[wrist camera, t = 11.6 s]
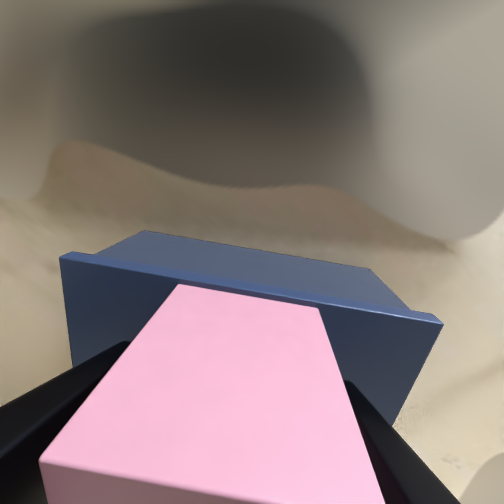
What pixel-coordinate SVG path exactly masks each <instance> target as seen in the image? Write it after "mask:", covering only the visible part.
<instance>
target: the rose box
mask: <svg viewBox="0 0 504 504" xmlns="http://www.w3.org/2000/svg"><path fill="white" fill-rule="evenodd" d="M38 462H39V466H40V471H41V475H42V479H43V484H44V488H45V493H46V497H47V502H48V504H385V502H384V499H383V496H382V493H381V490H380V487H379V484H378V481H377V478H376V476H375V473H374V470H373V467H372V464H371V461H370V458H369V455H368V452H367V449H366V447H365V444H364V441H363V438H362V435H361V432H360V429H359V426H358V423H357V420H356V417H355V415H354V412H353V409H352V406H351V403H350V400H349V397H348V394H347V391H346V388H345V385H344V383H343V380H342V377H341V374H340V371H339V368H338V365H337V362H336V359H335V356H334V353H333V351H332V348H331V345H330V342H329V339H328V336H327V333H326V330H325V327H324V324H323V321H322V319H321V316H320V313H319V310H318V308H314V307H308V306H302V305H297V304H291V303H285V302H279V301H274V300H268V299H262V298H257V297H251V296H245V295H239V294H234V293H228V292H222V291H217V290H211V289H205V288H199V287H194V286H188V285H182V284H178V285H177V286H176V288H175V289H174V290H173V291H172V293H171V294H170V295H169V296H168V298H167V299H166V300H165V301H164V303H163V304H162V305H161V306H160V307H159V309H158V310H157V311H156V312H155V314H154V315H153V316H152V317H151V319H150V320H149V321H148V322H147V324H146V325H145V326H144V327H143V329H142V330H141V331H140V332H139V334H138V335H137V336H136V337H135V339H134V340H133V341H132V342H131V344H130V345H129V346H128V347H127V349H126V350H125V351H124V352H123V354H122V355H121V356H120V357H119V359H118V360H117V361H116V362H115V364H114V365H113V366H112V367H111V369H110V370H109V371H108V372H107V374H106V375H105V376H104V377H103V379H102V380H101V381H100V382H99V384H98V385H97V386H96V387H95V389H94V390H93V391H92V392H91V394H90V395H89V396H88V397H87V399H86V400H85V401H84V402H83V404H82V405H81V406H80V407H79V409H78V410H77V411H76V412H75V414H74V415H73V416H72V417H71V418H70V420H69V421H68V422H67V423H66V425H65V426H64V427H63V428H62V430H61V431H60V432H59V433H58V435H57V436H56V437H55V438H54V440H53V441H52V442H51V443H50V445H49V446H48V447H47V448H46V450H45V451H44V452H43V453H42V455H41V456H40V458H39V461H38Z"/></svg>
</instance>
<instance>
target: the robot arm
mask: <svg viewBox="0 0 504 504" xmlns="http://www.w3.org/2000/svg"><path fill="white" fill-rule="evenodd" d="M130 344H131V342H130V341H121V342H119V343H118V344H116V345H114V346H112V347H110V348H108V349H107V350H105V351H103V352H101V353H99V354H97V355H95V356H94V357H92V358H90V359H88V360H86V361H84V362H83V363H81V364H79V365H77V366H75V367H73V368H72V369H70V370H68V371H66V372H64V373H62V374H60V375H59V376H57V377H55V378H53V379H51V380H49V381H48V382H46V383H44V384H42V385H40V386H38V387H36V388H35V389H33V390H31V391H29V392H27V393H25V394H24V395H22V396H20V397H18V398H16V399H14V400H12V401H11V402H9V403H7V404H5V405H3V406H1V407H0V504H48V502H47V497H46V493H45V488H44V484H43V479H42V475H41V471H40V466H39V462H38V461H39V458H40V456H41V455H42V453H43V452H44V451H45V450H46V448H47V447H48V446H49V445H50V443H51V442H52V441H53V440H54V438H55V437H56V436H57V435H58V433H59V432H60V431H61V430H62V428H63V427H64V426H65V425H66V423H67V422H68V421H69V420H70V418H71V417H72V416H73V415H74V414H75V412H76V411H77V410H78V409H79V407H80V406H81V405H82V404H83V402H84V401H85V400H86V399H87V397H88V396H89V395H90V394H91V392H92V391H93V390H94V389H95V387H96V386H97V385H98V384H99V382H100V381H101V380H102V379H103V377H104V376H105V375H106V374H107V372H108V371H109V370H110V369H111V367H112V366H113V365H114V364H115V362H116V361H117V360H118V359H119V357H120V356H121V355H122V354H123V352H124V351H125V350H126V349H127V347H128V346H129V345H130ZM342 380H343V379H342ZM343 383H344V385H345V388H346V391H347V394H348V397H349V400H350V403H351V406H352V409H353V412H354V415H355V417H356V420H357V423H358V426H359V429H360V432H361V435H362V438H363V441H364V444H365V447H366V449H367V452H368V455H369V458H370V461H371V464H372V467H373V470H374V473H375V476H376V478H377V481H378V484H379V487H380V490H381V493H382V496H383V499H384V502H385V504H460V502H459V501H458V500H457V499H456V498H455V497H454V496H453V494H452V493H451V492H450V491H449V490H448V489H447V488H446V487H445V486H444V484H443V483H442V482H441V481H440V480H439V479H438V478H437V477H436V475H435V474H434V473H433V472H432V471H431V470H430V469H429V468H428V466H427V465H426V464H425V463H424V462H423V461H422V460H421V459H420V458H419V456H418V455H417V454H416V453H415V452H414V451H413V450H412V449H411V447H410V446H409V445H408V444H407V443H406V442H405V441H404V440H403V438H402V437H401V436H400V435H399V434H398V433H397V432H396V431H395V429H394V428H393V427H392V426H391V425H390V424H389V423H388V422H387V421H386V419H385V418H384V417H383V416H382V415H381V414H380V413H379V412H378V410H377V409H376V408H375V407H374V406H373V405H372V404H371V403H370V401H369V400H368V399H367V398H366V397H365V396H364V395H363V394H362V393H361V391H360V390H359V389H358V388H357V387H356V386H355V385H354V384H353V383H352V382H351V381H348V380H343Z"/></svg>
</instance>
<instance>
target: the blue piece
mask: <svg viewBox="0 0 504 504" xmlns="http://www.w3.org/2000/svg"><path fill="white" fill-rule="evenodd" d="M59 262H60V270H61V278H62V286H63V294H64V302H65V310H66V318H67V326H68V334H69V342H70V350H71V358H72V366H73V367H75V366H77V365H79V364H81V363H83V362H84V361H86V360H88V359H90V358H92V357H94V356H95V355H97V354H99V353H101V352H103V351H105V350H107V349H108V348H110V347H112V346H114V345H116V344H118V343H119V342H121V341H130V342H132V341H133V340H134V339H135V337H136V336H137V335H138V334H139V332H140V331H141V330H142V329H143V327H144V326H145V325H146V324H147V322H148V321H149V320H150V319H151V317H152V316H153V315H154V314H155V312H156V311H157V310H158V309H159V307H160V306H161V305H162V304H163V303H164V301H165V300H166V299H167V298H168V296H169V295H170V294H171V293H172V291H173V290H174V289H175V288H176V286H177V285H178V284H182V285H188V286H194V287H199V288H205V289H211V290H217V291H222V292H228V293H234V294H239V295H245V296H251V297H257V298H262V299H268V300H274V301H279V302H285V303H291V304H297V305H302V306H308V307H314V308H318V310H319V313H320V316H321V319H322V321H323V324H324V327H325V330H326V333H327V336H328V339H329V342H330V345H331V348H332V351H333V353H334V356H335V359H336V362H337V365H338V368H339V371H340V374H341V377H342V379H343V380H348V381H351V382H352V383H353V384H354V385H355V386H356V387H357V388H358V389H359V390H360V391H361V393H362V394H363V395H364V396H365V397H366V398H367V399H368V400H369V401H370V403H371V404H372V405H373V406H374V407H375V408H376V409H377V410H378V412H379V413H380V414H381V415H382V416H383V417H384V418H385V419H386V421H387V422H388V423H389V424H390V425H391V426H392V425H393V423H394V422H395V420H396V418H397V416H398V414H399V412H400V410H401V408H402V406H403V404H404V402H405V400H406V398H407V396H408V394H409V392H410V390H411V388H412V386H413V384H414V382H415V380H416V378H417V376H418V374H419V373H420V371H421V369H422V367H423V365H424V363H425V361H426V359H427V357H428V355H429V353H430V351H431V349H432V347H433V345H434V343H435V341H436V339H437V337H438V335H439V333H440V331H441V329H442V327H443V325H444V324H443V323H442V322H441V321H440V320H439V319H438V318H437V317H435V316H434V315H433V314H430V313H424V312H418V311H412V310H410V309H409V308H408V307H407V306H406V305H405V304H404V303H403V302H402V301H401V300H400V299H399V298H398V297H397V296H396V295H395V294H394V293H393V292H392V291H391V290H390V289H389V288H388V287H387V286H386V285H385V284H384V283H383V282H382V281H381V280H380V279H379V278H378V277H377V276H376V275H375V274H374V273H373V272H372V271H371V270H370V269H366V268H360V267H354V266H348V265H342V264H337V263H331V262H325V261H319V260H313V259H307V258H302V257H296V256H290V255H284V254H278V253H272V252H267V251H261V250H255V249H249V248H243V247H237V246H232V245H226V244H220V243H214V242H208V241H202V240H197V239H191V238H185V237H179V236H173V235H168V234H162V233H156V232H150V231H142V232H140V233H138V234H136V235H133V236H131V237H129V238H127V239H125V240H123V241H121V242H119V243H117V244H115V245H113V246H111V247H109V248H107V249H105V250H102V251H100V252H98V253H96V254H94V255H90V254H85V253H79V252H73V251H72V252H70V253H67V254H65V255H62V256H60V257H59Z"/></svg>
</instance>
